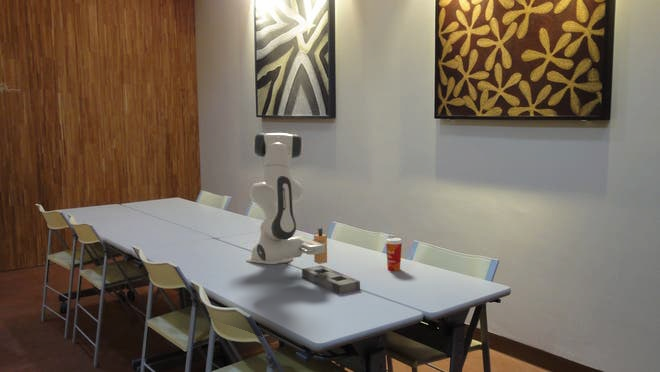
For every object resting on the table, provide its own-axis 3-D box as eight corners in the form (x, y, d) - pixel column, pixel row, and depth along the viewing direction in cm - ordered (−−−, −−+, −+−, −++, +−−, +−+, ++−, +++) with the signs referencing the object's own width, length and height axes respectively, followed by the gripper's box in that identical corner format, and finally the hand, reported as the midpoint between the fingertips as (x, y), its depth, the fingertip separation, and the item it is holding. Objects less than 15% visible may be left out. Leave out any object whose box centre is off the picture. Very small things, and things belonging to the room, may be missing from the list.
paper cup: (382, 268, 272) (382, 238, 270) (397, 266, 274) (397, 237, 272) (390, 272, 264) (390, 242, 263) (405, 270, 267) (405, 240, 265)
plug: (314, 261, 256) (313, 228, 254) (322, 260, 258) (321, 227, 256) (319, 263, 253) (318, 229, 250) (327, 262, 255) (326, 228, 253)
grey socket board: (302, 276, 260) (302, 268, 260) (321, 272, 265) (321, 265, 265) (339, 293, 235) (339, 285, 234) (360, 289, 240) (360, 281, 240)
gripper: (306, 244, 238) (335, 240, 245) (282, 235, 255) (310, 231, 263) (306, 259, 239) (335, 254, 246) (283, 249, 256) (310, 245, 263)
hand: (322, 242), depth 255 cm, fingers closed on plug, 4 cm apart
